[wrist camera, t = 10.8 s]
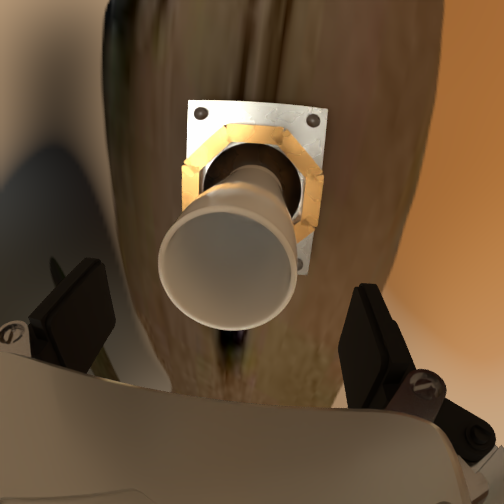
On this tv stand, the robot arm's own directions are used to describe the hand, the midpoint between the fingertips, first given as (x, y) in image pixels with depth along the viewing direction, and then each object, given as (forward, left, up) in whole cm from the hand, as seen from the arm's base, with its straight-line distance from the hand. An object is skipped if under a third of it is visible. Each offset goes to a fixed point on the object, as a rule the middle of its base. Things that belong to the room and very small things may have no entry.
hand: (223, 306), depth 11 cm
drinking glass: (+1, 0, -19) cm, 19 cm away
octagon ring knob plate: (+1, 0, -23) cm, 23 cm away
